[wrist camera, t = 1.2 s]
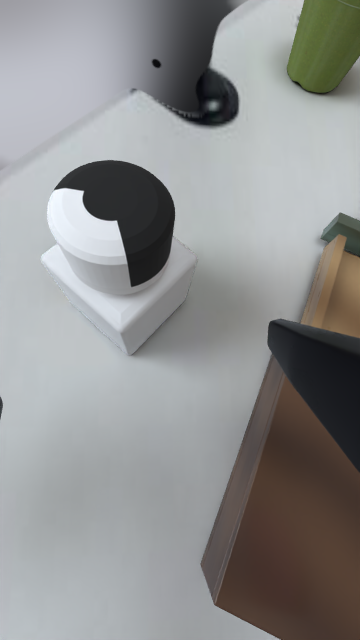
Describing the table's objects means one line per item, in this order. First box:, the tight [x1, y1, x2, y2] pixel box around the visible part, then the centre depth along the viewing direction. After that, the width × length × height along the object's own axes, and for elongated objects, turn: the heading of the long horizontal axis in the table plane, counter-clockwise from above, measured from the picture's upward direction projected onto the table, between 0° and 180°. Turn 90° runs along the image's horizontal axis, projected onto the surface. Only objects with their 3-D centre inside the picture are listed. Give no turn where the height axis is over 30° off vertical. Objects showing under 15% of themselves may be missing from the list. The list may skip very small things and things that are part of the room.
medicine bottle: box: [41, 160, 198, 355], centre depth 18 cm, size 7×7×12 cm
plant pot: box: [287, 0, 360, 93], centre depth 32 cm, size 12×12×11 cm
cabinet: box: [201, 354, 360, 640], centre depth 19 cm, size 16×14×4 cm
